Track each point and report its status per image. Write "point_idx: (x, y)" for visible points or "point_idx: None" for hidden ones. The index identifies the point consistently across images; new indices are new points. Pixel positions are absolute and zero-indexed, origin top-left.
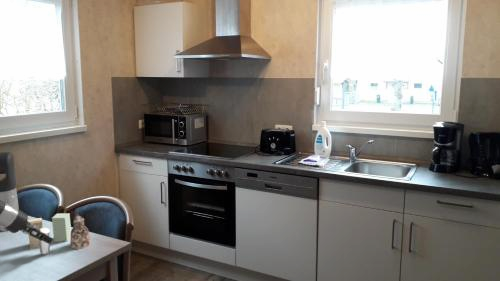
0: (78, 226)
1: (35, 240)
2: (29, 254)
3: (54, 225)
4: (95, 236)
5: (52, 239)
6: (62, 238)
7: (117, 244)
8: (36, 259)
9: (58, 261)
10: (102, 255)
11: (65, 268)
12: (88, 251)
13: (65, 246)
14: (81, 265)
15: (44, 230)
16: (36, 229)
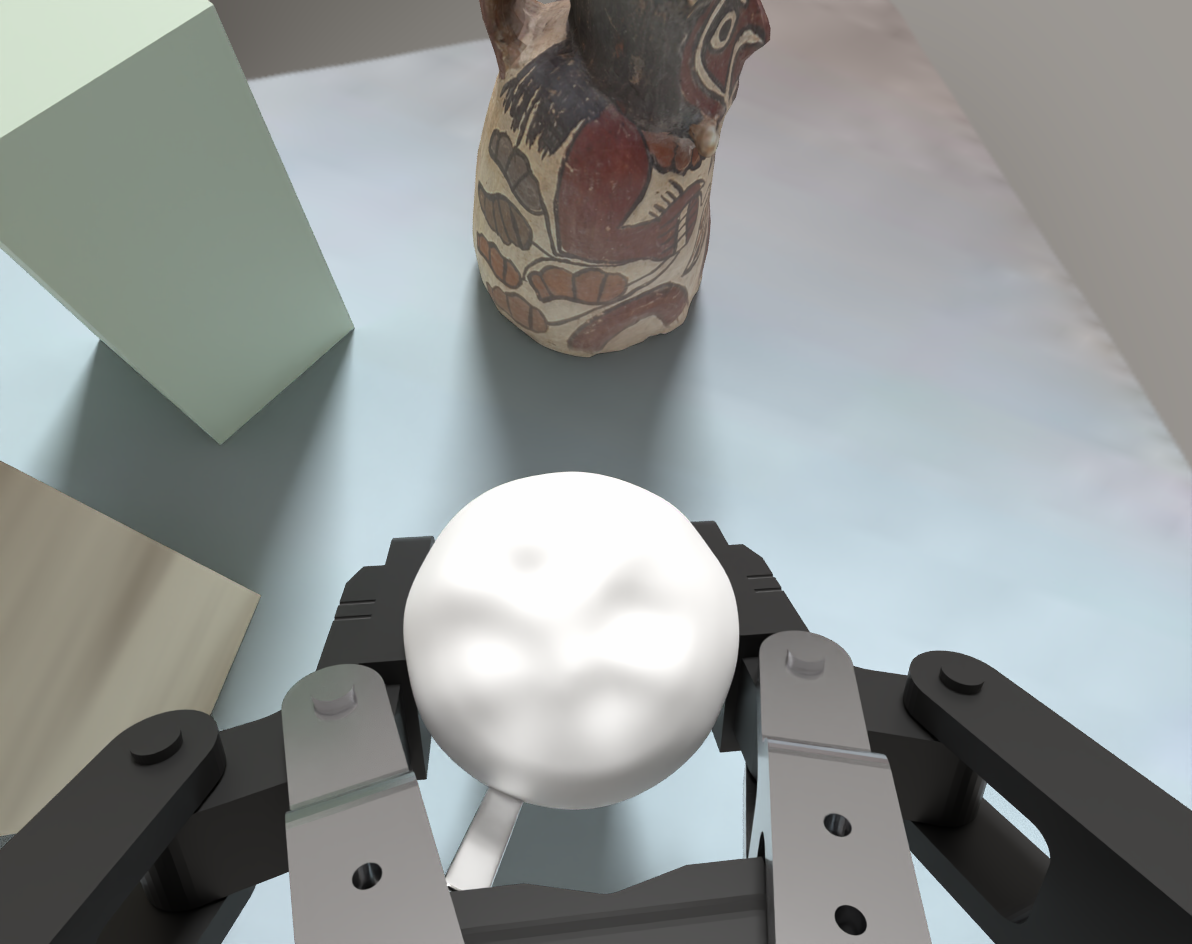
0: (736, 38)
1: (148, 704)
2: None
3: (102, 277)
4: (480, 76)
5: (711, 526)
6: (299, 340)
7: (839, 36)
8: (644, 833)
9: (895, 611)
10: (1011, 219)
11: (1135, 611)
12: (828, 271)
13: (500, 394)
14: (1142, 451)
15: (678, 596)
16: (397, 746)
